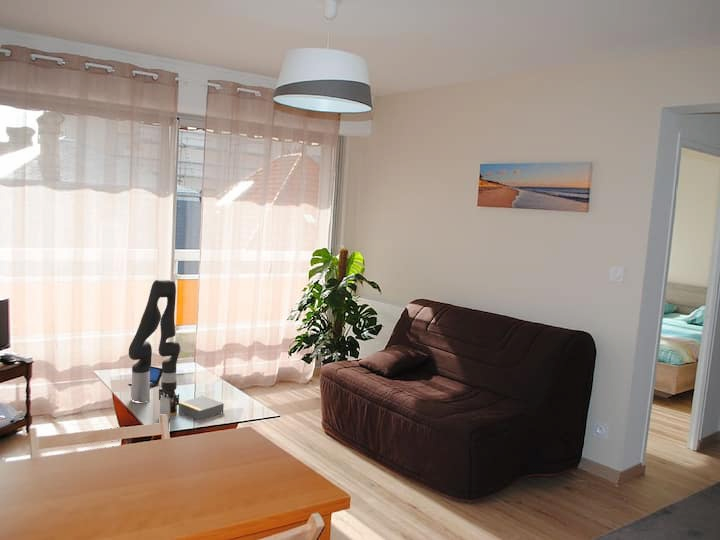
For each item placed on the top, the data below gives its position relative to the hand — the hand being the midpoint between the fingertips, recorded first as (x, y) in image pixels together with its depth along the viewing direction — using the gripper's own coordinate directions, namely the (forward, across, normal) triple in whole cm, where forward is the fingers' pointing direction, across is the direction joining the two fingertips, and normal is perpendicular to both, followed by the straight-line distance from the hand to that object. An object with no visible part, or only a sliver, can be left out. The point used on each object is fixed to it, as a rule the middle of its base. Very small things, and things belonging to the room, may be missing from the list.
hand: (168, 410), depth 315 cm
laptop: (+3, -52, +22) cm, 57 cm away
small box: (+3, 0, 0) cm, 3 cm away
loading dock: (+3, +7, +15) cm, 17 cm away
